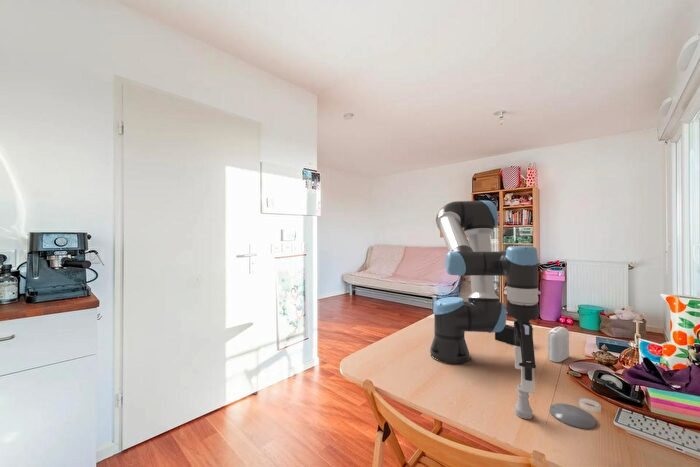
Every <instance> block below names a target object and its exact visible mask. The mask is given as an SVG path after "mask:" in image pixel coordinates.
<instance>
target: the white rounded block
mask: <svg viewBox="0 0 700 467" xmlns="http://www.w3.org/2000/svg"><path fill="white" fill-rule="evenodd" d="M547 336H548V339H547V340H548V341H547V342H548V345H547V346H548V353H547V354H548V359H549V361H551V362H554V363H562V362H563V361H565V360H567V359H568V358H569V357H570V334H569V330H568V329H567V328H565V327H564V326H555V327H553V328H552V329H551V330H550V331H549V333H548V334H547Z"/></svg>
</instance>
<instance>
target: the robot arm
mask: <svg viewBox="0 0 700 467" xmlns="http://www.w3.org/2000/svg"><path fill="white" fill-rule="evenodd" d="M497 209H498V208H497V207H496V205H495V203H494V202H493V201H491V200H481V199H480V200H460V201H459V200H458V201H457V200H456V201H451V202H449V203H447V204H445V205H443V206H442V207H441V208H440V209H439V211H438V212H437V214H436V218H435V222H436V227H437V228H438V230H439V231H440V232H441V234H442V236H443V239H444V243H445V245H446V248H447V251H448V252H447V253H446V254H445V262H444V263H445V264H444V265H445V270H446V273H447V274H448V275H450V276H459V277H463V276H465V277H466V276H469V277H470V287H471V288H470V289H471V293H470V295H468V297H467V301H465V299H464V298H462V297H458V296H447V297H442V298H439V299H437V300H435V302H434V307H433V314H434V315H433V317H434V318H433V319H434V320H433V322H434V331H433V332H434V334H433V335H434V336H433V338H432V341H431V345H430V348H429V349H430V350H429V351H430V352H429V353H431V355H432V356H433V357H434V358H436V359H438V360H440V361H442V362H441V363H444V362H446V363H445V364H449V363H450V364H452V365H459V364H465V363H468V361H469V360H470V351H469V348H468V344H467V342H466V339H465V333H466V332H471V333H489V334H491V333H495V332H501V331H502V330H503V329H504V327H505V324H506V325H507V316H510V317H511V318H514V321H513V327H514V338H513V339H514V341H515V342H514V344H515V345H517V346H514V368H515V369H516V370H521V371H520V372H521V373H520V374H521V384H522V391H524V392H529V393H530V394H535V369H536V368H537V365H536V357H535V347H534V346H535V345H534V338H533V336H534V334H533V330H534V327H533V324H531V322H530V321H531V320H537V319H538V318H539V317H540V312H539V311H540V305H539V304H538V303H539V295H541V294H542V292H541V291H540V290H539V257H538V256H539V255H538V248H536V247H535V246H526V245H523V246H521V245H520V246H519V245H517V246H516V245H515V246H514V245H511V246H510V245H509V246H508V247H507V248H506V250H499V251H492V242H491V235H492V233H494V232H495V228H496V227H498V225H499V213H498V210H497ZM498 276H499V277H501V276H502V277H503V276H504V277H506V300H507V302H506V305H507V306H506V305H505V303H503V302H502V301H500V297H499V296H498V295H497V294H496V292H495V279H494V277H498ZM431 355H430V356H431ZM432 356H431V357H432ZM433 357H432V358H433ZM434 358H433V359H434ZM436 359H435V360H436ZM438 360H437V361H438ZM440 361H439V362H440Z"/></svg>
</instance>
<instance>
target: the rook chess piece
mask: <svg viewBox="0 0 700 467" xmlns="http://www.w3.org/2000/svg"><path fill="white" fill-rule="evenodd" d="M516 390H517V395H518V396H517V397H518V399H517V403H516V404H515V405H514V412H515V415H516V416H518V418H521V419H524V420H530V419H532V418H533V417H534V415H533V409H532V406H531V405H530V400H529V398H530V395H529V393H530V392H524V391H522V383H519V384H517V386H516Z"/></svg>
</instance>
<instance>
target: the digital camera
mask: <svg viewBox="0 0 700 467" xmlns="http://www.w3.org/2000/svg"><path fill="white" fill-rule="evenodd" d="M513 338H514V326H511V325H509V324H507V323H506V324H505V327H504V329H503V330H502V331H501V332H494V340H495V341H497V340H498V342H501V343H503V344H504V343H505V344H507V345H512V346H514V347H515V346H517V345H515V344H514V342H515V341H514V339H513Z"/></svg>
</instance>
